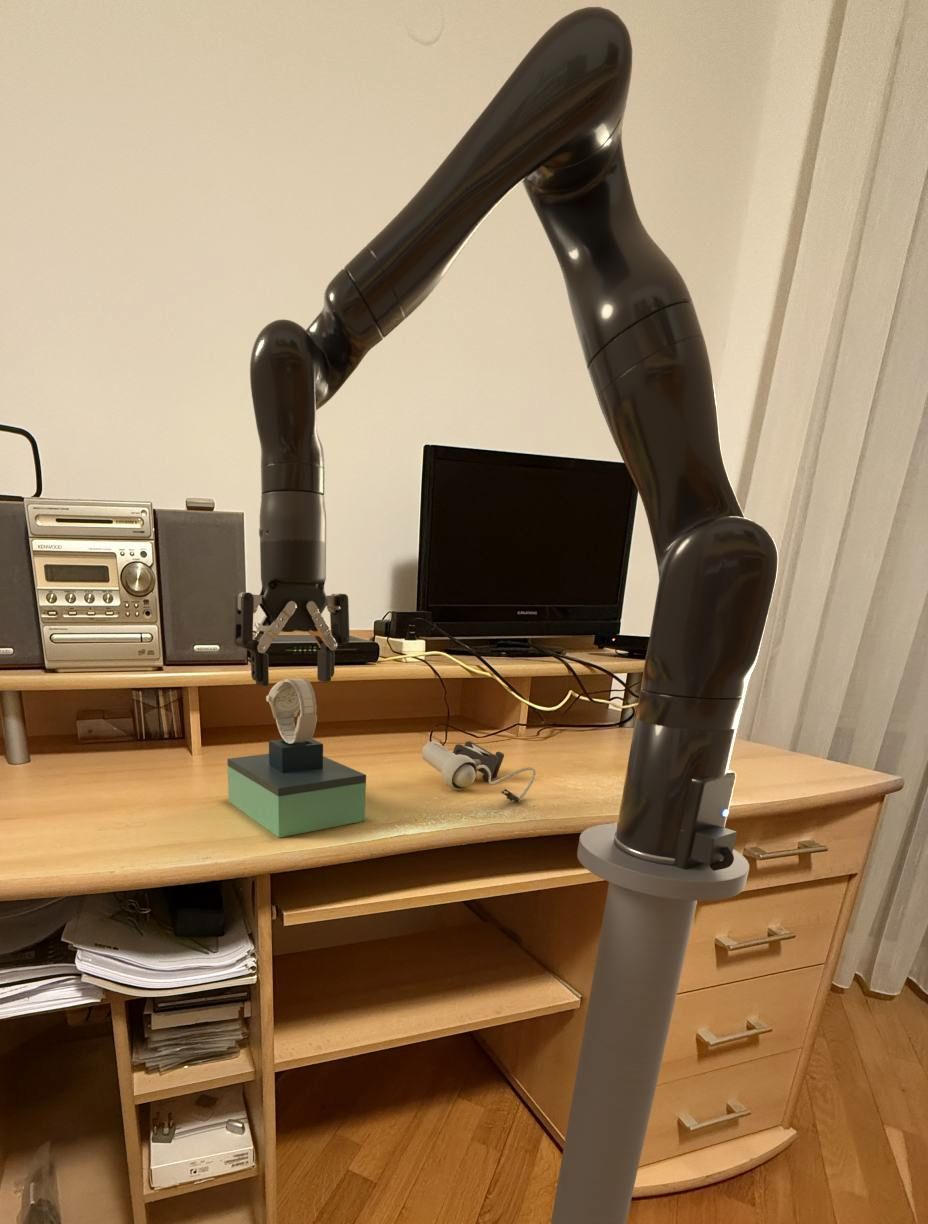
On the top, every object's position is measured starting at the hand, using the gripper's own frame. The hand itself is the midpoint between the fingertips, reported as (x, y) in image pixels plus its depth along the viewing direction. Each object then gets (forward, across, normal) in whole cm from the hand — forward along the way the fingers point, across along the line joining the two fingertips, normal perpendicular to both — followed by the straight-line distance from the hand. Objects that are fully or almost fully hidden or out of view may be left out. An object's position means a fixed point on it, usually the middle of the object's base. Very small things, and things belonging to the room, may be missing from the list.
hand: (294, 683), depth 77 cm
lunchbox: (+16, 0, 0) cm, 17 cm away
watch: (+11, 0, 0) cm, 11 cm away
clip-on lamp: (+17, +29, -3) cm, 34 cm away
